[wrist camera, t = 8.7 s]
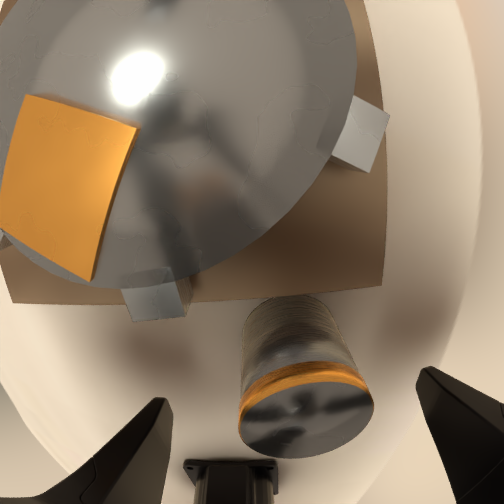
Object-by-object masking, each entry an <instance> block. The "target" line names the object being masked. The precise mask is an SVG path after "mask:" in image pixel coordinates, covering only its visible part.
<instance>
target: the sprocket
mask: <svg viewBox="0 0 504 504" xmlns="http://www.w3.org/2000/svg"><path fill="white" fill-rule="evenodd" d="M356 71H357V53H356V38H355V33H354V29H353V25H352V21H351V17H350V13H349V10H348V8H347V6H346V3H345V1H344V0H18V1H17V2H16V4H15V5H14V6H13V8H12V9H11V10H10V12H9V13H8V15H7V16H6V18H5V19H4V21H3V22H2V24H1V26H0V251H1V250H3V249H5V248H7V247H9V246H11V245H14V246H15V247H16V248H17V249H18V250H19V251H20V252H21V253H22V254H24V255H25V256H26V257H27V258H29V259H30V260H31V261H32V262H34V263H35V264H37V265H38V266H40V267H42V268H43V269H45V270H47V271H49V272H50V273H52V274H54V275H57V276H59V277H62V278H64V279H67V280H69V281H72V282H75V283H80V284H84V285H88V286H92V287H99V288H112V289H121V292H122V294H123V297H124V300H125V303H126V305H127V308H128V311H129V313H130V316H131V318H132V321H133V322H137V321H147V320H157V319H167V318H176V317H185V316H186V314H187V311H188V308H189V306H190V303H191V300H192V297H193V295H194V292H193V288H192V285H191V281H190V277H189V276H191V275H194V274H196V273H199V272H202V271H205V270H207V269H208V268H210V267H212V266H214V265H216V264H218V263H220V262H222V261H224V260H226V259H228V258H230V257H231V256H233V255H235V254H236V253H238V252H239V251H241V250H242V249H244V248H245V247H246V246H248V245H249V244H251V243H252V242H254V241H255V240H256V239H258V238H259V237H261V236H262V235H263V234H264V233H266V232H267V231H268V230H269V229H270V228H271V227H272V226H273V225H274V224H276V223H277V222H278V221H279V220H280V219H281V218H282V217H283V216H284V215H285V214H287V213H288V212H289V211H290V210H291V208H292V207H293V206H294V205H295V204H296V203H297V201H298V200H299V199H300V198H301V197H302V196H303V194H304V193H305V192H306V191H307V190H308V188H309V187H310V186H311V185H312V184H313V182H314V181H315V179H316V177H317V176H318V174H319V173H320V171H321V170H322V168H323V167H324V165H325V164H326V162H327V160H330V161H332V162H334V163H336V164H338V165H340V166H343V167H345V168H347V169H349V170H353V171H359V172H365V173H369V172H370V170H371V167H372V164H373V162H374V159H375V156H376V154H377V151H378V148H379V146H380V143H381V140H382V137H383V134H384V131H385V129H386V126H387V123H388V120H389V117H390V115H389V114H387V113H385V112H384V111H382V110H380V109H379V108H377V107H375V106H373V105H371V104H370V103H368V102H366V101H364V100H362V99H360V98H358V97H357V96H355V95H354V88H355V80H356Z"/></svg>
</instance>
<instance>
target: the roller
mask: <svg viewBox="0 0 504 504" xmlns="http://www.w3.org/2000/svg"><path fill="white" fill-rule="evenodd" d="M373 411H374V402H373V399H372V397H371V394H370V392H369V390H368V388H367V385H366V383H365V381H364V379H363V377H362V376H361V375H360V374H359V372H358V370H357V367H356V365H355V363H354V361H353V359H352V357H351V354H350V352H349V350H348V348H347V346H346V344H345V342H344V340H343V338H342V335H341V333H340V331H339V329H338V327H337V325H336V323H335V321H334V319H333V317H332V315H331V313H330V311H329V310H328V309H327V307H326V306H325V305H324V304H322V303H321V302H320V301H318V300H316V299H314V298H312V297H309V296H305V295H290V296H279V297H274V298H272V299H269V300H267V301H266V302H264V303H262V304H261V305H259V306H258V307H257V308H256V309H255V310H254V311H253V312H252V313H251V314H250V315H249V317H248V318H247V320H246V322H245V324H244V328H243V334H242V369H241V401H240V404H239V423H238V429H239V434H240V437H241V439H242V440H243V442H244V443H245V444H246V445H247V446H249V447H250V448H251V449H253V450H255V451H257V452H259V453H261V454H264V455H267V456H271V457H276V458H288V459H292V458H305V457H311V456H316V455H320V454H323V453H326V452H329V451H332V450H334V449H336V448H338V447H340V446H342V445H344V444H346V443H347V442H349V441H350V440H352V439H353V438H355V437H356V436H357V435H358V434H359V433H360V432H361V431H362V430H363V429H364V428H365V427H366V425H367V424H368V422H369V421H370V419H371V417H372V415H373Z"/></svg>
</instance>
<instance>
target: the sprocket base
mask: <svg viewBox="0 0 504 504" xmlns="http://www.w3.org/2000/svg"><path fill="white" fill-rule="evenodd" d="M17 1H18V0H5V1H4V2H3V5H2V8H1V11H0V26H1V24H2V22H3V21H4V19H5V18H6V16H7V15H8V13H9V12H10V10H11V9H12V8H13V6H14V5H15V4H16V2H17ZM344 1H345V3H346V6H347V8H348V10H349V13H350V17H351V21H352V25H353V29H354V33H355V38H356V53H357V71H356V80H355V88H354V95H355V96H357V97H358V98H360V99H362V100H364V101H366V102H368V103H370V104H371V105H373V106H375V107H377V108H379V109H380V110H382V111H383V102H382V93H381V85H380V78H379V71H378V65H377V59H376V54H375V48H374V43H373V38H372V33H371V29H370V25H369V20H368V16H367V12H366V8H365V5H364V1H363V0H344ZM386 222H387V154H386V136H385V131H384V134H383V137H382V140H381V143H380V146H379V148H378V151H377V154H376V156H375V159H374V162H373V164H372V167H371V170H370V172H369V173H365V172H359V171H353V170H349V169H347V168H345V167H343V166H340V165H338V164H336V163H334V162H332V161H330V160H327V162H326V164H325V165H324V167H323V168H322V170H321V171H320V173H319V174H318V176H317V177H316V179H315V181H314V182H313V184H312V185H311V186H310V187H309V188H308V190H307V191H306V192H305V193H304V194H303V196H302V197H301V198H300V199H299V200H298V201H297V203H296V204H295V205H294V206H293V207H292V208H291V210H290V211H289V212H288V213H287V214H285V215H284V216H283V217H282V218H281V219H280V220H279V221H278V222H277V223H276V224H274V225H273V226H272V227H271V228H270V229H269V230H268V231H267V232H266V233H264V234H263V235H262V236H261V237H259V238H258V239H256V240H255V241H254V242H252V243H251V244H249V245H248V246H246V247H245V248H244V249H242V250H241V251H239V252H238V253H236V254H235V255H233V256H231V257H230V258H228V259H226V260H224V261H222V262H220V263H218V264H216V265H214V266H212V267H210V268H208V269H207V270H205V271H202V272H199V273H196V274H194V275H191V276H189V277H190V281H191V285H192V288H193V292H194V295H193V297H192V300H191V302H207V301H225V300H240V299H254V298H267V297H279V296H290V295H301V294H312V293H321V292H331V291H340V290H349V289H357V288H365V287H373V286H381V285H382V277H383V267H384V255H385V241H386ZM0 265H1V268H2V272H3V275H4V278H5V281H6V284H7V287H8V290H9V293H10V296H11V299H12V302H13V303H24V304H59V305H123V304H126V303H125V300H124V297H123V294H122V292H121V289H112V288H99V287H92V286H88V285H84V284H80V283H75V282H72V281H69V280H67V279H64V278H62V277H59V276H57V275H54V274H52V273H50V272H49V271H47V270H45V269H43V268H42V267H40V266H38V265H37V264H35V263H34V262H32V261H31V260H30V259H29V258H27V257H26V256H25V255H24V254H22V253H21V252H20V251H19V250H18V249H17V248H16V247H15V246H14V245H11V246H9V247H7V248H5V249H3V250H1V251H0Z"/></svg>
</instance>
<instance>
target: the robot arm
mask: <svg viewBox="0 0 504 504" xmlns="http://www.w3.org/2000/svg"><path fill="white" fill-rule="evenodd" d="M416 391H417V394H418V398H419V401H420V404H421V407H422V410H423V413H424V417H425V420H426V423H427V425H428V427H429V430H430V432H431V434H432V437H433V440H434V442H435V444H436V447H437V449H438V452H439V454H440V457H441V460H442V462H443V465H444V468H445V470H446V473H447V476H448V479H449V482H450V484H451V488H452V491H453V493H454V496H455V500H456V504H504V404H503V403H500V402H499V401H497V400H495V399H493V398H491V397H489V396H487V395H485V394H483V393H482V392H480V391H478V390H476V389H474V388H472V387H470V386H468V385H466V384H465V383H463V382H461V381H459V380H457V379H455V378H453V377H451V376H450V375H448V374H446V373H444V372H442V371H440V370H438V369H437V368H435V367H433V366H429V367H425V368H423V369H422V370H421V371H420V374H419V377H418V380H417V382H416ZM172 427H173V412H172V410H171V407H170V405H169V402H168V400H167V399H166V398H162V397H155V398H153V399H152V400H151V401H150V402H149V403H148V404H147V405H146V406H145V407H144V408H143V409H142V410H141V411H140V412H139V413H138V414H137V415H136V416H135V417H134V418H133V419H132V420H131V421H130V422H129V423H128V424H126V425H125V426H124V427H123V428H122V429H121V430H120V431H119V432H118V433H117V434H116V435H115V436H114V437H113V438H112V439H111V440H110V441H108V442H107V443H106V444H105V445H104V446H103V447H102V448H101V449H100V450H99V451H98V452H97V453H96V454H94V455H93V457H91V458H90V459H89V460H88V461H87V462H86V463H84V464H83V465H82V466H81V467H80V468H79V469H77V470H76V471H75V472H73V473H72V474H71V475H69V476H68V477H67V478H65V479H64V480H62V481H61V482H59V483H58V484H56V485H55V486H54V487H52V488H50V489H49V490H47V491H46V492H44V493H43V494H40V495H37V496H34V497H24V498H23V497H21V498H3V497H2V498H1V497H0V504H161V499H162V494H163V489H164V484H165V479H166V473H167V468H168V464H169V459H170V452H171V439H172ZM183 468H184V470H185V471H186V473H187V475H188V476H189V478H190V479H191V481H192V482H193V484H194V485H195V487H196V488H195V496H194V504H274V495H276V494H278V466H277V462H275V461H258V462H199V461H185V462H184V464H183Z"/></svg>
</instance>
